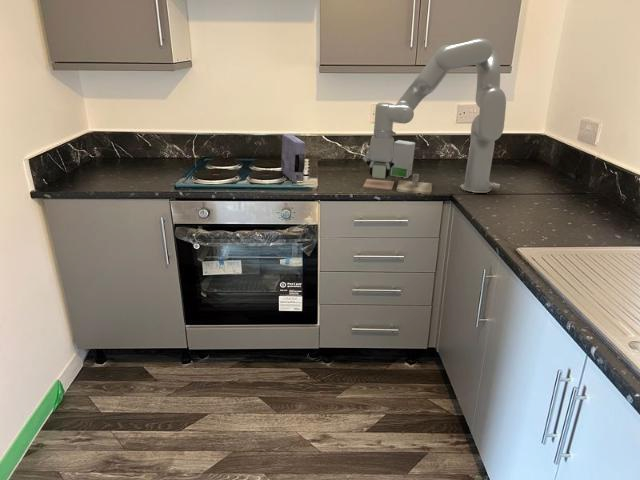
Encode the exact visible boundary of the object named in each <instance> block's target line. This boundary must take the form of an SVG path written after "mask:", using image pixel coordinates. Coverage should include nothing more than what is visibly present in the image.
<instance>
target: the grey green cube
mask: <svg viewBox="0 0 640 480" xmlns="http://www.w3.org/2000/svg"><path fill="white" fill-rule="evenodd" d="M386 168H387V166H386V163H384V162H374V164H373V171H372V177H371V178H376V179H377V178H378V179H386V178H385V174H386Z"/></svg>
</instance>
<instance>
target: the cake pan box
mask: <svg viewBox="0 0 640 480" xmlns="http://www.w3.org/2000/svg"><path fill="white" fill-rule="evenodd" d="M305 161H306V142H305V141H303V140H301V139H300V138H298V137H297V136H295V135H294V134H292V133H283V134H282V140H281V161H280V162H281V164H280V165H281V167H280V171H281V170H282V171H283V173H284V174H285V175H286V176H287V177H288V178H289V179H288V178H287V177H286V176H285V175H284V174H283V173H282V174H283V175H284V176H285V177H286V178H287V179H288V180H290V181H291V180H292V181H293V182H297V181H303V182H304V172H305ZM292 181H291V182H292ZM293 182H292V183H293Z"/></svg>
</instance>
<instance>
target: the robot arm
mask: <svg viewBox="0 0 640 480" xmlns="http://www.w3.org/2000/svg"><path fill="white" fill-rule="evenodd" d="M429 59H430V60H429V61H428V62H427V64H426V65H425V66H424V68H423V69H422V71H420V72H419V74H418V75H417V77H416V78H415V79H414V80H413V82H412V83H411V84H410V85H409V87H408V88H407V89H406V91H405V92H404V93H403V94H402V96H401V97H400V99H398V101H397V102H396V103H395V104H394V103H391V102H378V103H377V104H376V105H375V111H374V113H375V114H374V125H373V135H372V136H371V138H370V143H369V149H368V152H367V153H366V154H365V155H364V156H363V157H362V160H363V161H364V162H365V164H367V165H368V166H369V175H370V178H373V177H372V171H373V165H374V163H385V164H386V166H387V168H386V174H385V178H384V179H388V177H390V171H391V167H392V166H394V165H395V164H396V163H398V161H399V160H398V159H397V158H396V156H395V155H394V142H395V139H394V136H397V135H396V132H395V131H393V126H394V123H398V124H404V125H405V124H408V123H410V122H411V121H412V120H413V119H414V115H415V114H414V111H415V109H416V108H417V106H419V104H420V103H421V102H422V100H423V99H425V98H426V97H427V96H428V95H430V94H431V93H433V92H434V91H435V90H436V89H437V88H438V86H439V85H440V83H442V81H443V79H444V78H445V77H446V76H447V74H449V72H450V71H451V70H454V69H461V68H465V67H469V66H474V65H475V67H476V74H477V75H476V89H475V90H476V92H475V103H476V104H475V105H476V106H477V107H478V108H479V113H478V115H476V117H474V119H473V121H472V123H471V127H470V141H469V142H470V144H469V148H468V149H469V151H468V155H467V163H466V170H465V176H464V183H462V184H460V185H459V188H460V187H461V188H462V189H464V190H467V191H472V192H488V191H490V190H491V191H492V188H493V189H500V187H501V184H500V183H497V182H491V181H490V175H491V168H492V162H493V157H494V151H495V150H494V149H495V145H496V144H495V141H497V140H499V138H500V137H501V136H502V134H503V132H504V128H505V120H506V108H507V97H506V94H505V92H504V91H503V90H502V89H501V88H500V87H501V86H500V85H501V62H500V58H499V56H498V54H497V52H496V51H495V49H494V48H493V44H492V42H491V40H489V39H487V38H482V37H481V38H480V37H478V38H477V37H476V38H472V39H470V40H469V41H466V42H462V43H456V44H445V45H441V46H440V47H438V49H437V50H436V51H435V52H434V54H433V55H432V57H431V58H429ZM393 159H394V162H392V160H393Z"/></svg>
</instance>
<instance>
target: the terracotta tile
mask: <svg viewBox="0 0 640 480" xmlns="http://www.w3.org/2000/svg"><path fill="white" fill-rule="evenodd" d="M394 184H395V181H393V180H384V179H382V180H381V179H373V178H372V179H371V178H366V180H365V182H364V184H363V186H362V188H364V189H373V190H374V189H375V190H383V191H384V190H386V191H392V190H393V188H394Z"/></svg>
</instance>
